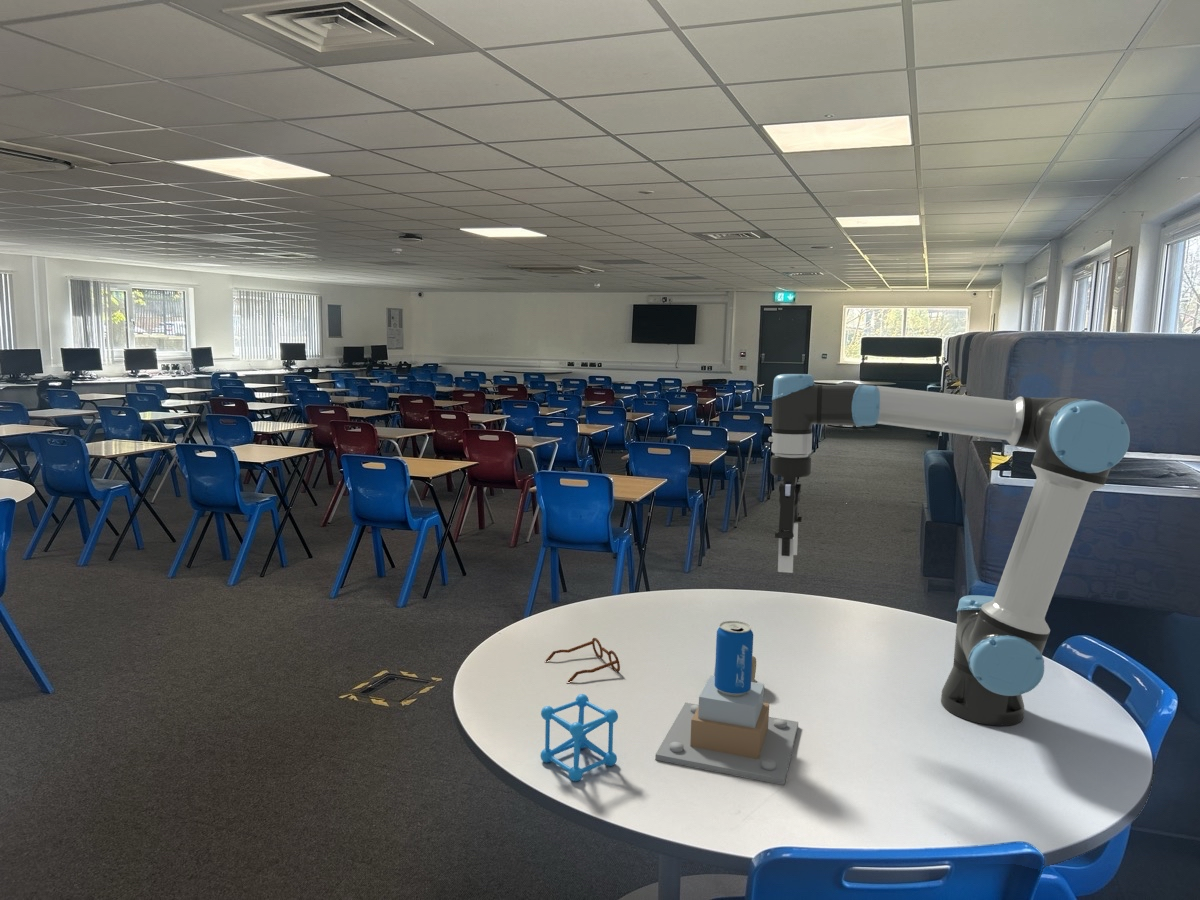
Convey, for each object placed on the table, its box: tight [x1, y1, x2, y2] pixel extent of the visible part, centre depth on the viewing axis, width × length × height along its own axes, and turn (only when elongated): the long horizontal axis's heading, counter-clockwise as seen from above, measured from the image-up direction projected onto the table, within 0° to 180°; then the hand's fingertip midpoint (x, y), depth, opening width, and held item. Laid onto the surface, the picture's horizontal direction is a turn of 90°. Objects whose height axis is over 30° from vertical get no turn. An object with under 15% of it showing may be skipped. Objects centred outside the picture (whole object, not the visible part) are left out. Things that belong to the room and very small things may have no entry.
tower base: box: [655, 675, 799, 786], centre depth 145 cm, size 22×22×10 cm
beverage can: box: [714, 620, 754, 696], centre depth 144 cm, size 6×6×12 cm
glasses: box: [545, 637, 621, 682], centre depth 178 cm, size 13×13×5 cm
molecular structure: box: [539, 693, 619, 782], centre depth 137 cm, size 10×10×10 cm
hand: (787, 562), depth 156 cm, fingers open, 13 cm apart
